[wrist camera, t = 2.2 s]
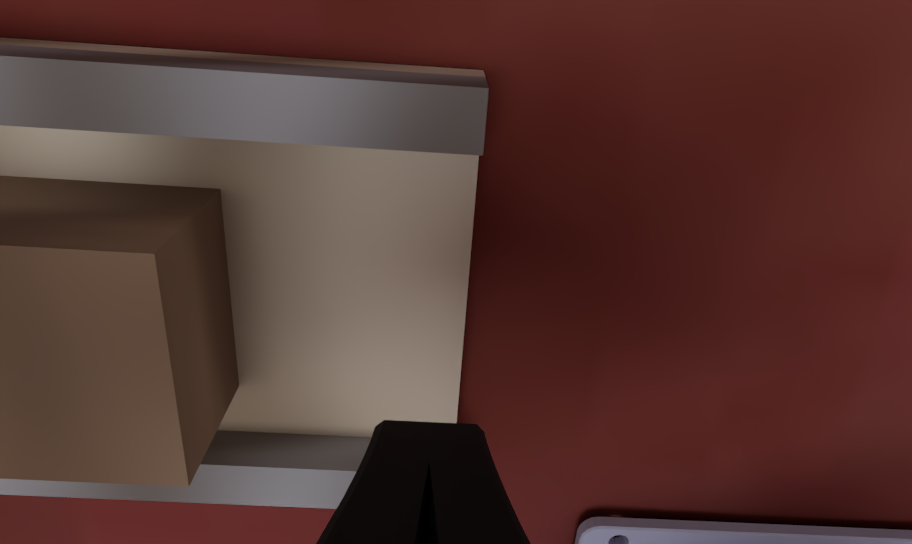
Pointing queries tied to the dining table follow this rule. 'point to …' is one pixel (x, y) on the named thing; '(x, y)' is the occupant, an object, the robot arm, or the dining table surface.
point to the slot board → (282, 235)
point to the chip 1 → (112, 330)
